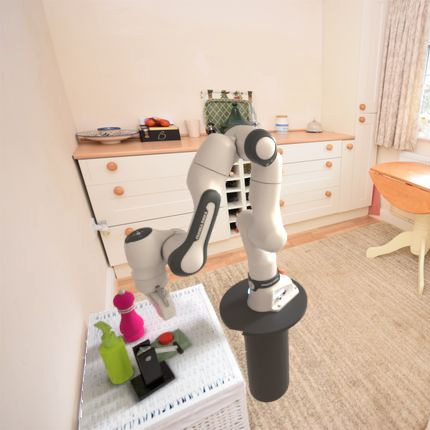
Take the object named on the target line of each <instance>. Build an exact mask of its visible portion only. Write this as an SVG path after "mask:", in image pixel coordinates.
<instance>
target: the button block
mask: <svg viewBox="0 0 430 430" xmlns="http://www.w3.org/2000/svg"><path fill="white" fill-rule="evenodd" d="M169 332H171V333H172V335H173V340H172V342H171V343H169V344H166V345H161V344H160V341H159V336H160V335H161V334H159V335H158V336H157V337H156V338H155V339H154V341H152V342H150V343H151V347H154V348H162V347H169V346H173V342H175V341H177V342H178V344H179V345H180V346H181V348H182V349H183V350H184V349H186V348H188V347H189V346H191V345H190V341H189V339H188V338H187V336H186V335H185V334H184V333H183V331H182V330H181V329H180V328H176V329H174V330H172V331H171V330H169ZM177 353H178V351H177V350H176V351H169V352H162V353H156V354H157V358H158V361H159V363H160V362H162V361H163V360H165V361H166V360H168V359H169V358H171V357H173V356H174V355H176V354H177Z"/></svg>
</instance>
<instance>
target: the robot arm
mask: <svg viewBox="0 0 430 430" xmlns="http://www.w3.org/2000/svg"><path fill="white" fill-rule="evenodd" d="M277 144H278V143H277V141H276V138H275V136H274V135H273V134H272V133H271V132H269V130H266V129H264V128H260V127H257V126H253V125H250V124H249V125H245V124H240V123H237V124H232V125H230V126H228V127H226V128H225V129H224V131H223V132H221V133H219V132H213V133H209V134H208V135H207V136H206V137H205V139H204V140H203V141H202V143H201V144H200V146H199V147H198V149H197V151H196V152H195V155H194V156H193V159H192V161H191V163H190V165H189V168H188V171H187V175H186V181H185V182H186V186H187V189H188V191H189V193H190V196H191V199H192V203H193V214H192V217H191V220H190V223H189V225H188V227H187V228H188V229H187V231H186V230H183V229H181V228H170V229H156V228H153V227H149V226H147V227H139V228H137V229H135V230H132V231H131V232H129V233H128V235H126V237H125V238H124V240H123V249H124V255H125V259H126V262H127V265H128V267H129V268H130V270H131V271H130V274H131V278H132V280H133V284H134V287H135V289H136V291H137V292H138V293H139V294H140V293H141V294H143V295H144V296H145V297H146V299H147V300H148V301H149V303H150V304H151V306H152V307H153V308H154V309H155V311H156V314H158V316H159V318H161V319H162V320H163V321H169V320H171V319H172V318H175V317H176V316H177V309H176V307H175V303H174V300H173V298H172V295H171V294H170V293H169V291H167V289H166V286H167V285H168V284H169V281H170V277H169V274H168V270H167V266H168V268H169V270H170V272H171V273H172V274H173V275H175V276H177V277H179V278H185V277H190V276H195V275H196V274H198V273H199V272H200V271H201V270H202V269H203V268H204V267H205V265H206V263H207V260H208V246H209V243H210V239H211V235H212V233H213V231H214V227H215V223H216V221H217V217H218V215H219V212H220V208H221V203H222V196H223V192H224V189H225V186H226V183H227V181H228V178H229V176H230V173H231V171H232V168H233V166H234V165H235V164H236V163H237V162H238V161H239V160H240V159H241V160H244V161H248V162H249V163H250V166H251V171H250V176H249V177H250V179H249V188H248V202H249V205H250V208H251V209H243V210H242V211H241V212H239V213H238V215H237V217H236V219H235V226H236V228H237V230H238V232H239V234H240V238H241V241H242V244H243V248H244V251H245V254H246V258H247V267H248V269H247V270H248V273H247V278H248V283H249V290H248V294H249V296H248V300H247V304H248V306H249V307H250V308H251V309H252V310H254V311H258V312H267V311H273V312H278V311H280V310H281V309H282V308H283V307H284V306H285V305H286V304H287V303H288V302H289V301H291V300H292V299H293V298H294V297H295V296H296V295H297V294H298V293H299V291H298V288H297V287H296V286H295V285H294V284H293V283H292V281H291V279H292V278H291V277H289V276H287V275H286V271H285V270H284V269H282V268H279V267H278V266H277V253H278V252H280V251H281V250H283V249H284V247H285V245H286V244H287V241H288V233H287V231H286V230H285V227H284V225H283V221H282V215H281V214H282V213H281V208H280V200H281V191H282V182H283V181H282V180H283V158H282V154H280V152H279V151H278V145H277ZM290 278H291V279H290Z"/></svg>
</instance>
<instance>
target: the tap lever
mask: <svg viewBox="0 0 430 430" xmlns="http://www.w3.org/2000/svg"><path fill="white" fill-rule="evenodd" d="M150 348H151V347H150V346H145V347H140V348H139V350H138V353H137V355H139V354H141V353H143V352H145V351H147V350H148V349H150ZM176 350H177V351H178V352H177V353H178V354H179V355H183V354H184V352H185V350H184V349H182V348H181V346H180V345H179V344H178V342H177V341H175V342H173V346H169V347H162V348H155V351H156V353H162V352H169V351H176Z"/></svg>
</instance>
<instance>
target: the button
mask: <svg viewBox="0 0 430 430" xmlns="http://www.w3.org/2000/svg"><path fill="white" fill-rule="evenodd" d="M159 335H160V336H159ZM159 335H158V336H159V341H160V344H161V345H166V344H169V343H171V342H172V340H173V335H172V333H171V332H170V331H165V332H163V333H161V334H159Z"/></svg>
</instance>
